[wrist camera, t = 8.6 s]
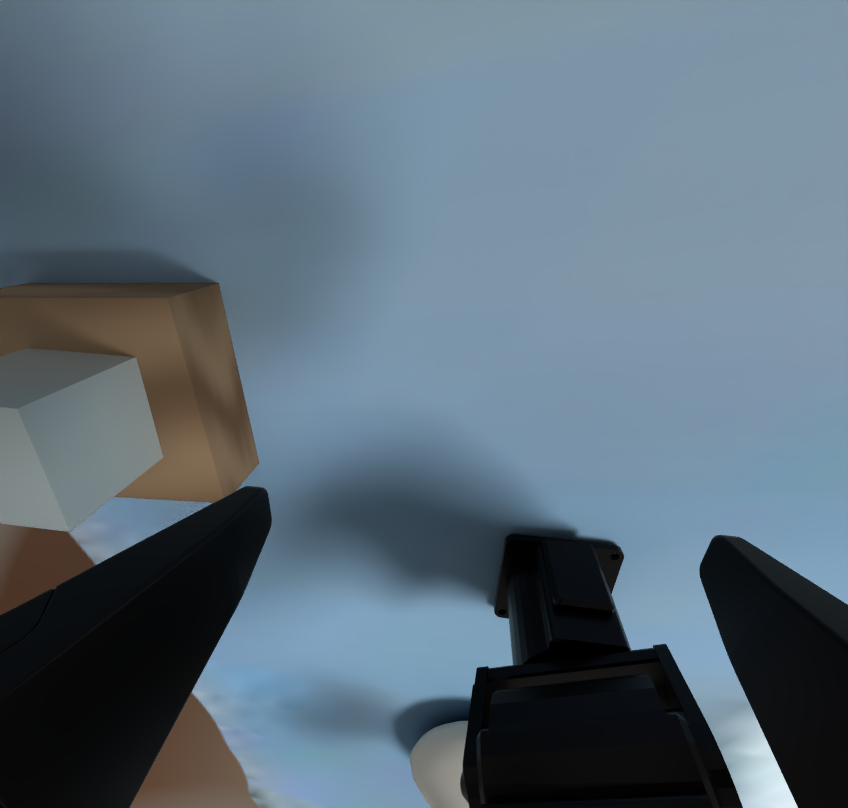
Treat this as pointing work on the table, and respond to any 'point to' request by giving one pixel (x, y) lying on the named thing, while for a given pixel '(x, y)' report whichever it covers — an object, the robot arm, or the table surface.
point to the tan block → (153, 371)
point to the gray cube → (70, 435)
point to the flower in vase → (440, 765)
